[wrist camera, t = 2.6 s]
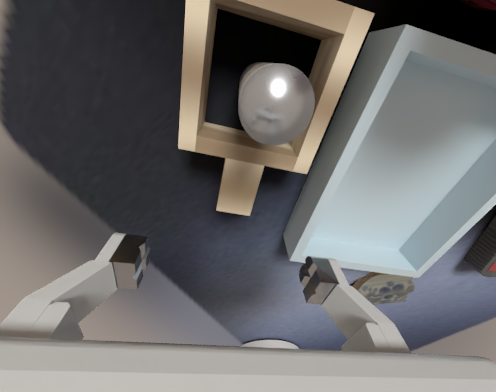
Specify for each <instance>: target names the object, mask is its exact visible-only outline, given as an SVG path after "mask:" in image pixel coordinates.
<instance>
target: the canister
mask: <svg viewBox="0 0 496 392" xmlns="http://www.w3.org/2000/svg"><path fill="white" fill-rule="evenodd" d="M459 1H460V2H462V3H463V4H465V5H467V6H469V7H472V8H475V9H480V10H494V11H496V0H459Z"/></svg>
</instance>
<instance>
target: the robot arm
mask: <svg viewBox="0 0 496 392" xmlns="http://www.w3.org/2000/svg"><path fill="white" fill-rule="evenodd" d="M149 244H150V238H149V237H144V236H137V235H130V234H122V233H114V234H113V235H112V236H111V238H110V239H109V240H108V242H107V243H106V245H105V246H104V247H103V249H102V250H101V252H100V253H99V255H98V256H97V258H96V259H95V260H94V261H92V260H91V261H89V262H87V263H85V264H84V265H81V266H80V267H78V268H76V269H74V270H73V271H71V272H69V273H67V274H66V275H64V276H62V277H60V278H59V279H57V280H55V281H53V282H51V283H50V284H48V285H46V286H44V287H43V288H41V289H39V290H37V291H35V292H34V293H32V294H30V295H28V296H27V297H25V298H23V299H22V301H21V302H20V303H19V304H18V305H17V306H16V307H15V309H14V310H13V311H12V312H11V313H10V314H9V315H8V316H7V318H6V319H5V320H4V321H3V322H2V323H1V324H0V392H496V363H495V362H493V361H492V360H490V359H487V358H484V357H478V356H453V355H452V356H451V355H430V354H429V355H428V354H412V353H411V352H410V350H409V348H408V347H407V345H406V343H405V341H404V340H403V338H402V336H401V335H400V333H399V331H398V330H397V328H396V326H395V324H394V323H393V322H392V321H390V320H389V319H388V318H387V317H386V316H385V315H384V314H383V313H382V312H380V311H379V310H378V309H377V308H376V307H375V306H374V305H373V304H371V303H370V302H369V301H368V300H367V299H366V298H365V297H364V296H363V295H361V294H360V293H359V292H358V291H357V290H356V289H355V288H354V287H353V286H349V284H348V282H347V280H346V278H345V276H344V274H343V272H342V270H341V268H340V266H339V264H338V262H337V260H336V259H332V258H324V257H315V256H308V257H307V258H306V259H305V262H306V264H304V265H302V267H301V269H300V273H299V277H300V282H301V284H302V285H303V286H304V287H305V288H304V290H303V293H304V296H305V300H306V303H311V304H320V305H321V306H322V307H323V308H324V309H325V311H326V312H327V313H328V315H329V316H330V317H331V319H332V320H333V321H334V322H335V324H336V325H337V326H338V328H339V329H340V330H341V331H342V333H343V334H344V335H345V337H346V338H347V339H348V341H347V342H346V343H345V344H344V345H343V346H342V348H341V349H342V351H334V350H310V349H299V348H298V347H297V346H296V345H294V344H292V343H289V342H286V341H281V340H259V341H253V342H249V343H246V344H243V345H241V346H216V345H192V344H167V343H143V342H120V341H119V342H118V341H96V340H82V339H83V334H82V331H81V329H80V327H79V325H78V323H79V322H80V321H81V320H82V319H83V318H84V317H86V316H87V315H88V314H89V313H90V312H91V311H93V310H94V309H95V308H96V307H97V306H99V305H100V304H101V303H102V302H103V301H104V300H106V298H108V297H109V296H110V295H111V294H112V293H114V292H115V291H116V290H117V288H119V289H138V287H139V284H140V282H141V280H142V277H143V270H145V269H146V268H147V266H148V263H149V259H150V253H151V250H150V248H149V247H148V246H149Z"/></svg>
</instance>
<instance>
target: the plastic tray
mask: <svg viewBox="0 0 496 392" xmlns="http://www.w3.org/2000/svg"><path fill="white" fill-rule="evenodd" d="M494 205H496V55H495V54H493V53H490V52H487V51H484V50H481V49H478V48H475V47H472V46H469V45H466V44H463V43H460V42H457V41H454V40H451V39H448V38H445V37H442V36H440V35H437V34H434V33H431V32H428V31H425V30H422V29H419V28H416V27H413V26H410V25H407V24H405V25H401V26H396V27H392V28H387V29H383V30H378V31H374V32H369V34H368V37H367V39H366V41H365V44H364V46H363V48H362V51H361V53H360V55H359V58H358V60H357V62H356V65H355V67H354V69H353V72H352V74H351V76H350V79H349V81H348V83H347V86H346V88H345V91H344V93H343V95H342V98H341V100H340V102H339V105H338V107H337V109H336V112H335V114H334V116H333V119H332V121H331V123H330V126H329V128H328V130H327V133H326V135H325V137H324V140H323V142H322V144H321V147H320V149H319V151H318V154H317V156H316V158H315V161H314V163H313V165H312V168H311V170H310V172H309V175H308V177H307V179H306V182H305V184H304V186H303V189H302V191H301V193H300V196H299V198H298V200H297V203H296V205H295V207H294V210H293V212H292V214H291V217H290V219H289V221H288V224H287V226H286V228H285V231H284V233H283V237H284V241H285V245H286V249H287V253H288V257H289V261H295V262H302V263H306V262H305V259H306V258H307V257H308V256H315V257H324V258H332V259H336V260H337V262H338V264H339V266H340V268H348V269H355V270H363V271H370V272H378V273H385V274H393V275H400V276H408V277H415V278H419V277H420V276H421V275H422V274H423V273H424V272H425V271H426V270H427V269H428V268H429V267H431V266H432V265H433V264H434V263H435V262H436V261H437V260H438V259H439V258H440V257H441V256H442V255H443V254H444V253H445V252H446V251H447V250H448V249H449V248H450V247H452V246H453V245H454V244H455V243H456V242H457V241H458V240H459V239H460V238H461V237H462V236H463V235H464V234H465V233H466V232H467V231H468V230H469V229H470V228H471V227H472V226H474V225H475V224H476V223H477V222H478V221H479V220H480V219H481V218H482V217H483V216H484V215H485V214H486V213H487V212H488V211H489V210H490V209H491V208H492V207H493V206H494Z"/></svg>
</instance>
